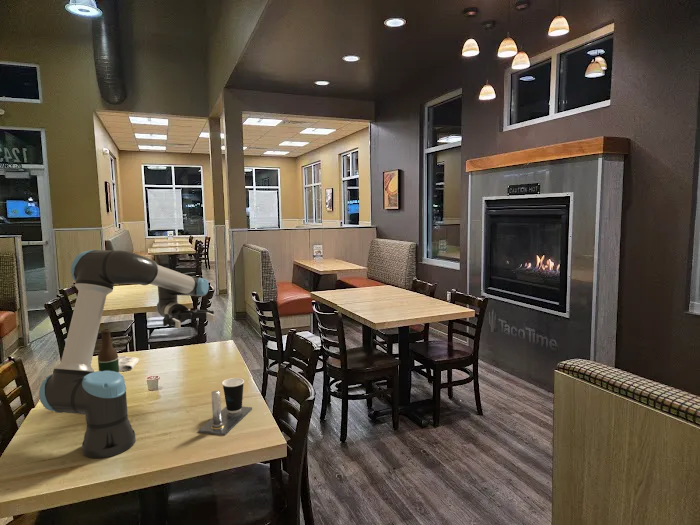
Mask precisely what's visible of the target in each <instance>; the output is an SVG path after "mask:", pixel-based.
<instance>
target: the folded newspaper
mask: <svg viewBox="0 0 700 525" xmlns="http://www.w3.org/2000/svg"><path fill="white" fill-rule="evenodd" d="M118 362H119V373H120V372H128V371H131V370H133V369H134V368H135V366H136V365H137V364H138V362H140V359H139V357H135V356H134V357H133V356H126V355H118Z"/></svg>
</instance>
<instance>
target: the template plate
mask: <svg viewBox="0 0 700 525" xmlns="http://www.w3.org/2000/svg"><path fill="white" fill-rule="evenodd" d="M251 411H253V407H251V406H243V405H242V408H241V411H240V412H238V413H229V412H228V410H227V407H226V406H225V407H224V408H223V409H221V419H222V421H223V426H222V427H220V428H213V427H212V423H213V417H212V418H210V419H209V420H208V421H207V422H206V423H204V424H203V425H202V426H201V427H200V428H199V429H198V430H197V432H198V433H199V434H201V433H202V434H210V435H216V436H217V435H218V436H219V435H220V436H227V435H228V433H230V431H231V430H233V429H234V428H235V427H236V426H237V425H238V424H239V423H240V422H241V421H242V420H243V419H244V418H245V417H246V416H247V415H248V414H249V413H251Z"/></svg>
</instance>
